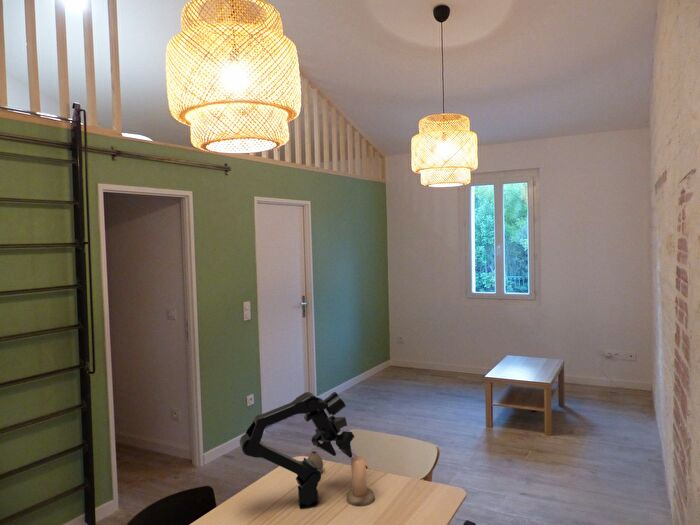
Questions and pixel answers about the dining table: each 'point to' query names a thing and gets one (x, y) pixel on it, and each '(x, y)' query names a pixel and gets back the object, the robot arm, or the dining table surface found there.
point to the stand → (360, 498)
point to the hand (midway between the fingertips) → (343, 456)
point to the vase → (316, 460)
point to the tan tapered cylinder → (359, 476)
